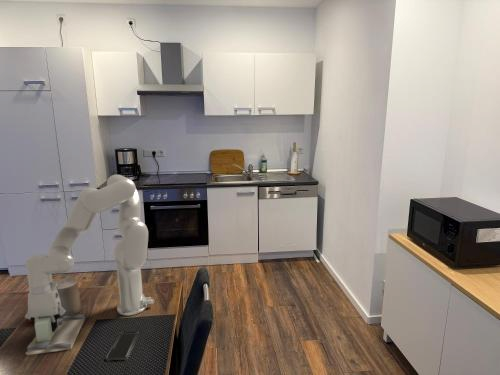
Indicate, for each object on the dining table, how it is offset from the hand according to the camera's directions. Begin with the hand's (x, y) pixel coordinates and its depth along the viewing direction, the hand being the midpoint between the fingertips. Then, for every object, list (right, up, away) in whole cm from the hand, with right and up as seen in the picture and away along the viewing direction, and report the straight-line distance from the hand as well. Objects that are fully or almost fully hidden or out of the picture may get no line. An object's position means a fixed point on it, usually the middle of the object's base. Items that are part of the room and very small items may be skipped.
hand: (47, 330), depth 130 cm
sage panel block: (0, -2, 0) cm, 2 cm away
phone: (+31, -4, -5) cm, 32 cm away
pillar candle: (-1, +1, +18) cm, 18 cm away
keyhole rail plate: (+3, -3, +1) cm, 4 cm away
